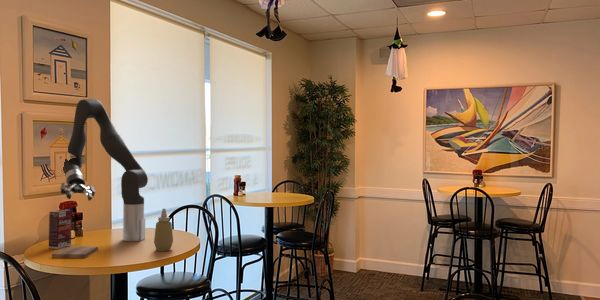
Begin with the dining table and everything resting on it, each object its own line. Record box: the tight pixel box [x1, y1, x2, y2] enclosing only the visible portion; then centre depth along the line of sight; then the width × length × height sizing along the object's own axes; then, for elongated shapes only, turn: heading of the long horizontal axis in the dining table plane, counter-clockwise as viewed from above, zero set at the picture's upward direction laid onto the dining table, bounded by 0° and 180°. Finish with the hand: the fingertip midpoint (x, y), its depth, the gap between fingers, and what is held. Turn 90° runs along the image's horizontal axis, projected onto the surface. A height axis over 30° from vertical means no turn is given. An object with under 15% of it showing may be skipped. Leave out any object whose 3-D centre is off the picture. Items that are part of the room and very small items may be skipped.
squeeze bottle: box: [153, 208, 174, 252], centre depth 198 cm, size 8×8×18 cm
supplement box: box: [48, 208, 72, 250], centre depth 200 cm, size 9×5×16 cm, turn 168°
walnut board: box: [51, 245, 99, 259], centre depth 189 cm, size 13×13×2 cm
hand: (80, 198), depth 207 cm, fingers open, 8 cm apart
